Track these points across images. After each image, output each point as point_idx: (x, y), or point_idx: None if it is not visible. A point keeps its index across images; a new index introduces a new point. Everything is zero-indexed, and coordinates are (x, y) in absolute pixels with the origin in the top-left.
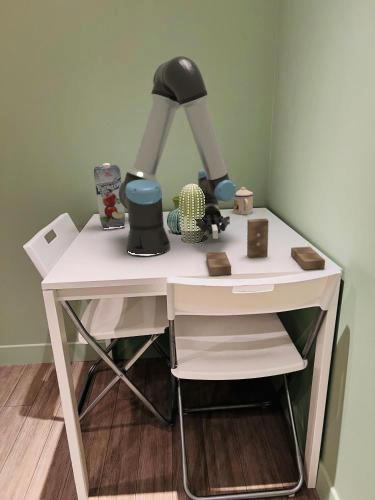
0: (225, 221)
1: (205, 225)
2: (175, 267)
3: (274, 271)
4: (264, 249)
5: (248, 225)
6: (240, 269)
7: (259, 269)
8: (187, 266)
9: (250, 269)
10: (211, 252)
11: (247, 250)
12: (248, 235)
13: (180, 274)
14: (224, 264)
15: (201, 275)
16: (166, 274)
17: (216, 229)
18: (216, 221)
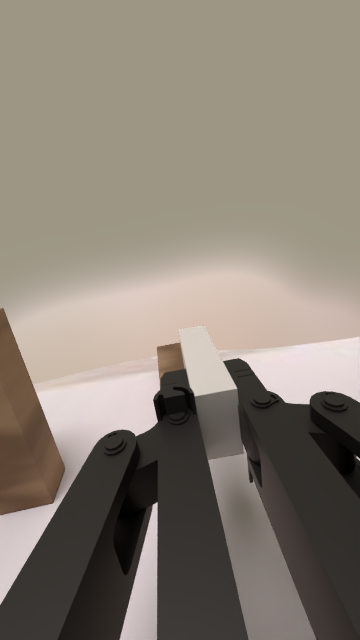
0: (32, 560)
1: (312, 403)
2: (333, 375)
3: (51, 391)
4: None
5: (3, 338)
6: (131, 389)
7: (81, 395)
8: (297, 385)
9: (104, 392)
10: None
11: (46, 474)
12: (25, 386)
13: (288, 353)
14: (172, 349)
15: (232, 357)
16: (326, 348)
17: (186, 334)
18: (200, 560)
